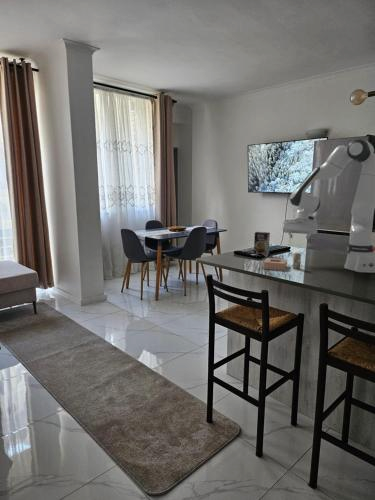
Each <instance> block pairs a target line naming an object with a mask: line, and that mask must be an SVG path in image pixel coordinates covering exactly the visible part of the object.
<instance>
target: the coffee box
mask: <svg viewBox="0 0 375 500" xmlns="http://www.w3.org/2000/svg"><path fill="white" fill-rule="evenodd" d="M270 235H271V232H267V231H266V232H264V231H255V232H254V239H253V241H254V242H253V243H254V244H253V245H254V246H253V254H254V253H258V254H262V255H264V256H265V257H264V258H268V257H269V256H268V254H270V253H269V252H270V238H271V237H270Z"/></svg>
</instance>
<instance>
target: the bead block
mask: <svg viewBox="0 0 375 500" xmlns="http://www.w3.org/2000/svg"><path fill="white" fill-rule="evenodd" d="M262 263H263V266H262V267H263V270H272V269H273V271H274V270H276V271H284V272H285V271H286V268H287V265H288V259H285V258H272V257H265V259H264V261H263V262H262Z"/></svg>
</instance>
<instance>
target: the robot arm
mask: <svg viewBox="0 0 375 500" xmlns="http://www.w3.org/2000/svg"><path fill="white" fill-rule="evenodd" d="M351 161H354V162H358V163H361V165H362V166H361V171H360V174H359V179H358V184H357V188H356V191H355V195H354V198H353V202H352V206H351V210H350V212H351V223H350V230H349V239H348V244H347V257H346V259H345V260H346V261H345V264H344V266H343V268H344V269H347V270H349V271H354V272H357V273H368V274H369V273H373V274H374V273H375V246H374V245H372V235H373V233H372V232H373V227H374V226H373V223H374V214H375V146H374V145H373V144H372V143H371V142H369V141H367V140H365V139H361V138H360V139H355V140H352V141H351V142H349V144H348V145H347V146H346V145H342V144H341V145H338V146H336V147H335V148H334V149H333V150H332V152H331V153H330V154H329V156H328V157H327V158H326V160H325V162H324V163H323V164H321V165H320V166H316V167H315V168H314V169H312V170H311V172H309V174H308V175H307V176H306V177H305V178H304V179H303V181H302V182H301V183H300V184H299V186H298V187H296V188H295V189H294V190H293V191H292V193H291V195H290V196H289V201H290V203H291V206H292V205H293V206H295V207H294V215H293V219H285V220H284V221H283V226H282V232H283V233H286V234H288V235H289V239H293V234H299V235H300V234H302V235H306V236H305V240H309V239H310V237H311V235H316V234H318V222H317V218H316V217H314V216H311V215H312V214H314V213H316V212H317V211H318V210H319V209H320V206H321V200H320V198H319V197H318V196H315V195H313V194H311V193H309V192H306V191H307V190H308V189H309V187H310V186H311V185H312V184H313V183H314V182H315V181H317V180H333V179H336V178H338V177H339V176H340V175H341V174H342V173H343V171H344V169H345V168H346V167H347V165H348V164H349V163H350V162H351Z"/></svg>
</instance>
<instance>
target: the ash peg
mask: <svg viewBox="0 0 375 500" xmlns="http://www.w3.org/2000/svg"><path fill="white" fill-rule="evenodd" d="M301 259H302V253H299V252H293V261H292V262H293V264H292V269H293V270H301V264H302V263H301V261H302V260H301Z"/></svg>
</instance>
